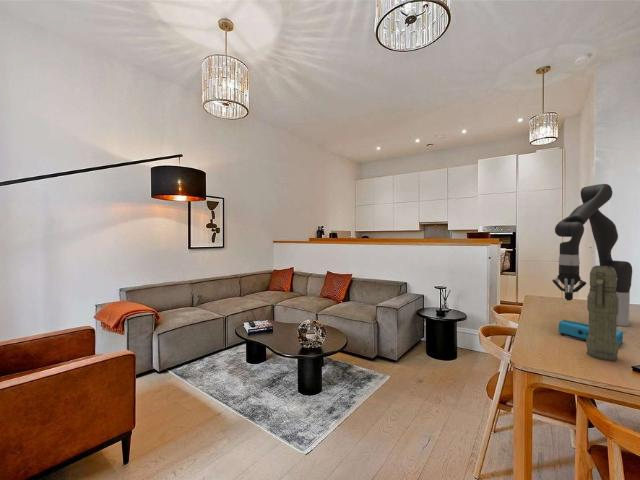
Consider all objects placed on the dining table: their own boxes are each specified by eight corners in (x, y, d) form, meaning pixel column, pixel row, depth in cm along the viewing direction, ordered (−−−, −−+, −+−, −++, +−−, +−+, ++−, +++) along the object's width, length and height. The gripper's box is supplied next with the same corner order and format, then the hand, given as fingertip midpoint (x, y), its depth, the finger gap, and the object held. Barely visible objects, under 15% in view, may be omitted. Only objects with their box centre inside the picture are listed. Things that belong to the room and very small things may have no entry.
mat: (561, 328, 149) (561, 327, 149) (602, 333, 140) (602, 332, 140) (565, 337, 135) (566, 336, 135) (612, 344, 127) (612, 343, 127)
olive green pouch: (585, 357, 114) (586, 266, 113) (587, 348, 122) (588, 264, 121) (617, 364, 107) (619, 268, 107) (618, 355, 116) (619, 265, 115)
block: (557, 332, 138) (617, 346, 122) (557, 322, 138) (618, 334, 122) (564, 329, 145) (622, 342, 129) (565, 319, 145) (623, 330, 129)
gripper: (585, 264, 140) (585, 300, 140) (550, 262, 147) (550, 297, 148) (589, 265, 134) (588, 303, 134) (552, 264, 141) (551, 300, 141)
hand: (568, 300), depth 141 cm, fingers closed
